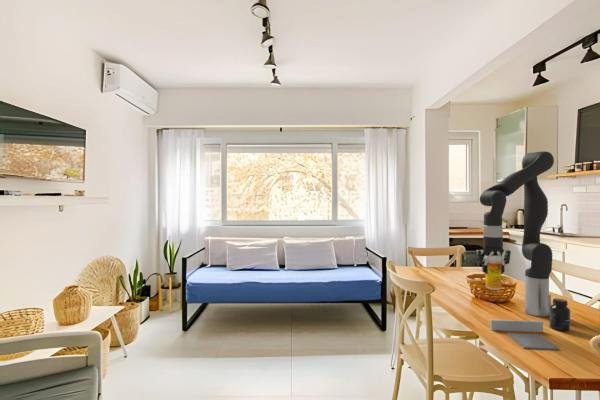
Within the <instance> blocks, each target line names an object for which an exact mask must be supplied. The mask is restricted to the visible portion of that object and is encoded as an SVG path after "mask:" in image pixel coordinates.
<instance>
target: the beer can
mask: <svg viewBox="0 0 600 400" xmlns="http://www.w3.org/2000/svg"><path fill="white" fill-rule="evenodd" d="M487 257H488V256H486V257H485V258H487ZM485 287H486V288H487V289H488V290H494V291H499V290H500V289H502V274H501V257H500V255H499V256H492V255H490V257H489V261H488V263H487V274H485Z"/></svg>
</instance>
